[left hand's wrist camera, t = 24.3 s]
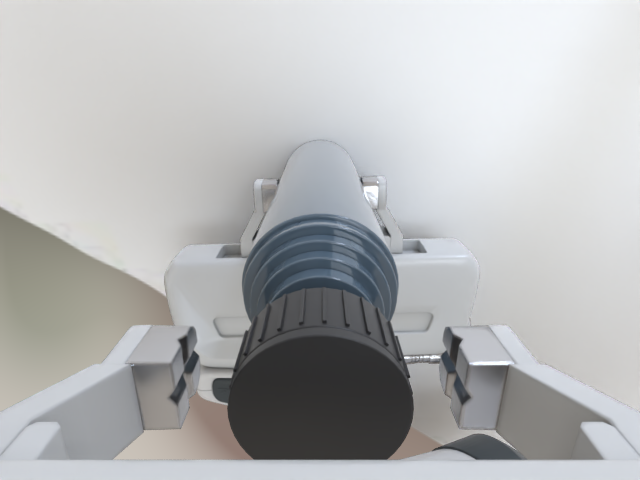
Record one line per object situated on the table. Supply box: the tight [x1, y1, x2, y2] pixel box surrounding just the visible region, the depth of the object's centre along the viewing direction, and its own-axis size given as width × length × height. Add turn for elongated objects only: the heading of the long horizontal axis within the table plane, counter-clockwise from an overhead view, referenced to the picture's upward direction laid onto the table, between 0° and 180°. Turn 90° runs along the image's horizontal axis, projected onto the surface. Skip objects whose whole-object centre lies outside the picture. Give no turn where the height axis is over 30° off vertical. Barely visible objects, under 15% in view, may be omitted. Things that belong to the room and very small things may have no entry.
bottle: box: [242, 140, 399, 324], centre depth 20 cm, size 5×5×23 cm
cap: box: [227, 287, 414, 460], centre depth 9 cm, size 4×4×2 cm
